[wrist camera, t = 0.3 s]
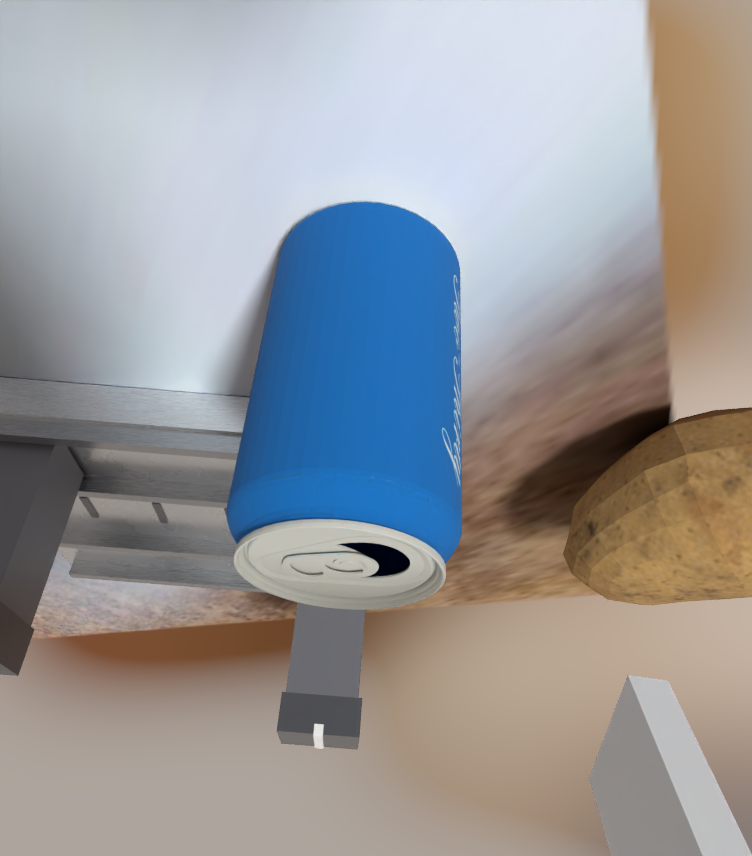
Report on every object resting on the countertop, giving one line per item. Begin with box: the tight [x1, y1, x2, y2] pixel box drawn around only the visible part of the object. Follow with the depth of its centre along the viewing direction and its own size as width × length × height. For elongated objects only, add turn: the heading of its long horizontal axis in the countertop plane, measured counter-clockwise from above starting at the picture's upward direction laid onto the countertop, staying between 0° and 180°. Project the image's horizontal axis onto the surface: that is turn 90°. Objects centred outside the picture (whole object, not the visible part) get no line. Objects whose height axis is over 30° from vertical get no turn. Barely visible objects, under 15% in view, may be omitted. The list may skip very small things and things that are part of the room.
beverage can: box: [227, 201, 462, 610], centre depth 21 cm, size 6×6×12 cm
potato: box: [563, 408, 752, 605], centre depth 30 cm, size 10×14×8 cm
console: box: [0, 377, 268, 593], centre depth 39 cm, size 18×22×3 cm
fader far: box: [277, 603, 365, 749], centre depth 41 cm, size 4×4×10 cm
